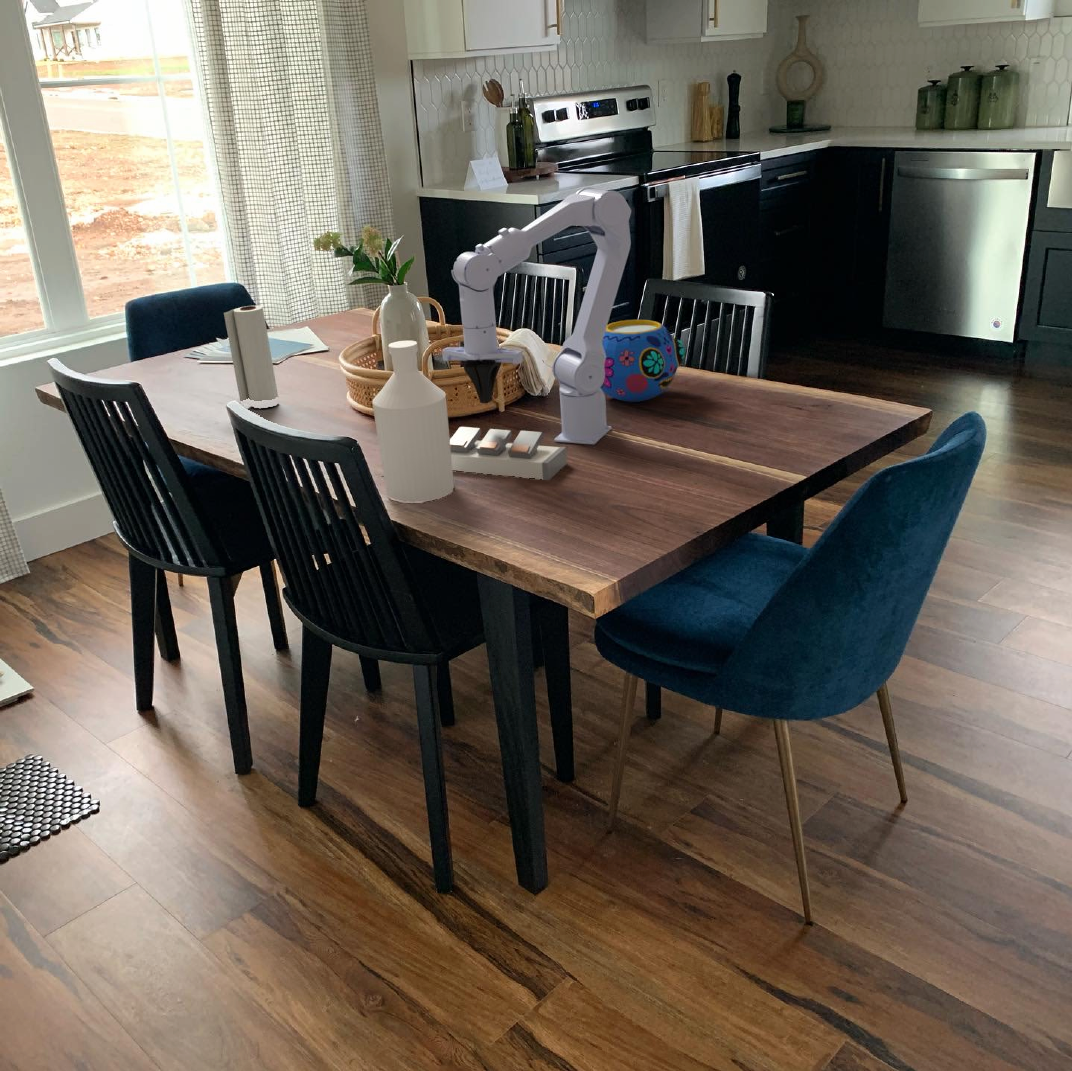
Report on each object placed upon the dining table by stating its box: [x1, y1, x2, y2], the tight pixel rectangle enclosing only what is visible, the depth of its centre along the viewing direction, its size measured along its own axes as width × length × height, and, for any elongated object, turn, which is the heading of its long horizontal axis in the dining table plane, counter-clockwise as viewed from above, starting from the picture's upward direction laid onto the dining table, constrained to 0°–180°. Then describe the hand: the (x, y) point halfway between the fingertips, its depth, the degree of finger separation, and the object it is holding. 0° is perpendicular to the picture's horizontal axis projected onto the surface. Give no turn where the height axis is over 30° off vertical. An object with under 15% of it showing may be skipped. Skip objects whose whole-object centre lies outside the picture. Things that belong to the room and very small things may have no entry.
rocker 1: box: [450, 426, 482, 453], centre depth 188 cm, size 6×4×1 cm, turn 156°
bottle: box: [371, 340, 455, 502], centre depth 174 cm, size 12×12×25 cm
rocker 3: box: [508, 430, 544, 459], centre depth 183 cm, size 6×4×1 cm, turn 156°
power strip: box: [449, 437, 568, 481], centre depth 188 cm, size 8×29×4 cm, turn 66°
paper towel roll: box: [223, 305, 279, 402], centre depth 227 cm, size 7×6×21 cm
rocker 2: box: [476, 428, 513, 456], centre depth 185 cm, size 6×4×1 cm, turn 156°
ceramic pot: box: [600, 319, 686, 403], centre depth 215 cm, size 18×18×15 cm
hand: (486, 401), depth 188 cm, fingers closed
